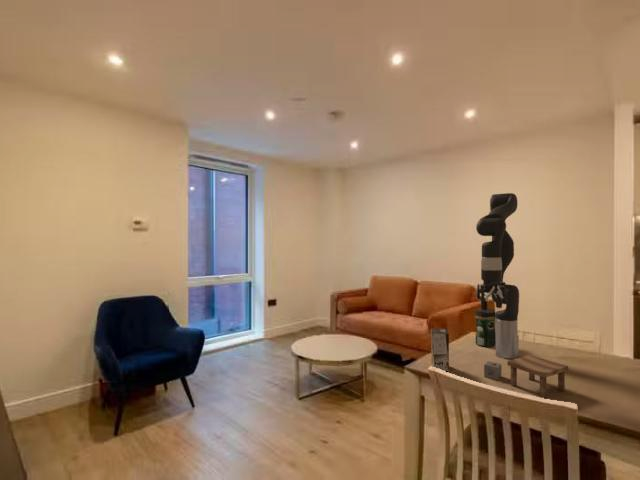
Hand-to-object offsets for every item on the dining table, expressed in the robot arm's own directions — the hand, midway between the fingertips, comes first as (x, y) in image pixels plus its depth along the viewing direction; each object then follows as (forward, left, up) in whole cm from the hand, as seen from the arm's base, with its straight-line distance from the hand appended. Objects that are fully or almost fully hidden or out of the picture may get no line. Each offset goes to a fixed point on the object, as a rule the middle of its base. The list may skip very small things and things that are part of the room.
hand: (491, 309), depth 145 cm
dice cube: (0, 0, -27) cm, 27 cm away
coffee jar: (-33, -29, -27) cm, 52 cm away
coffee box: (+11, -17, -27) cm, 34 cm away
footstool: (-5, +15, -27) cm, 31 cm away
